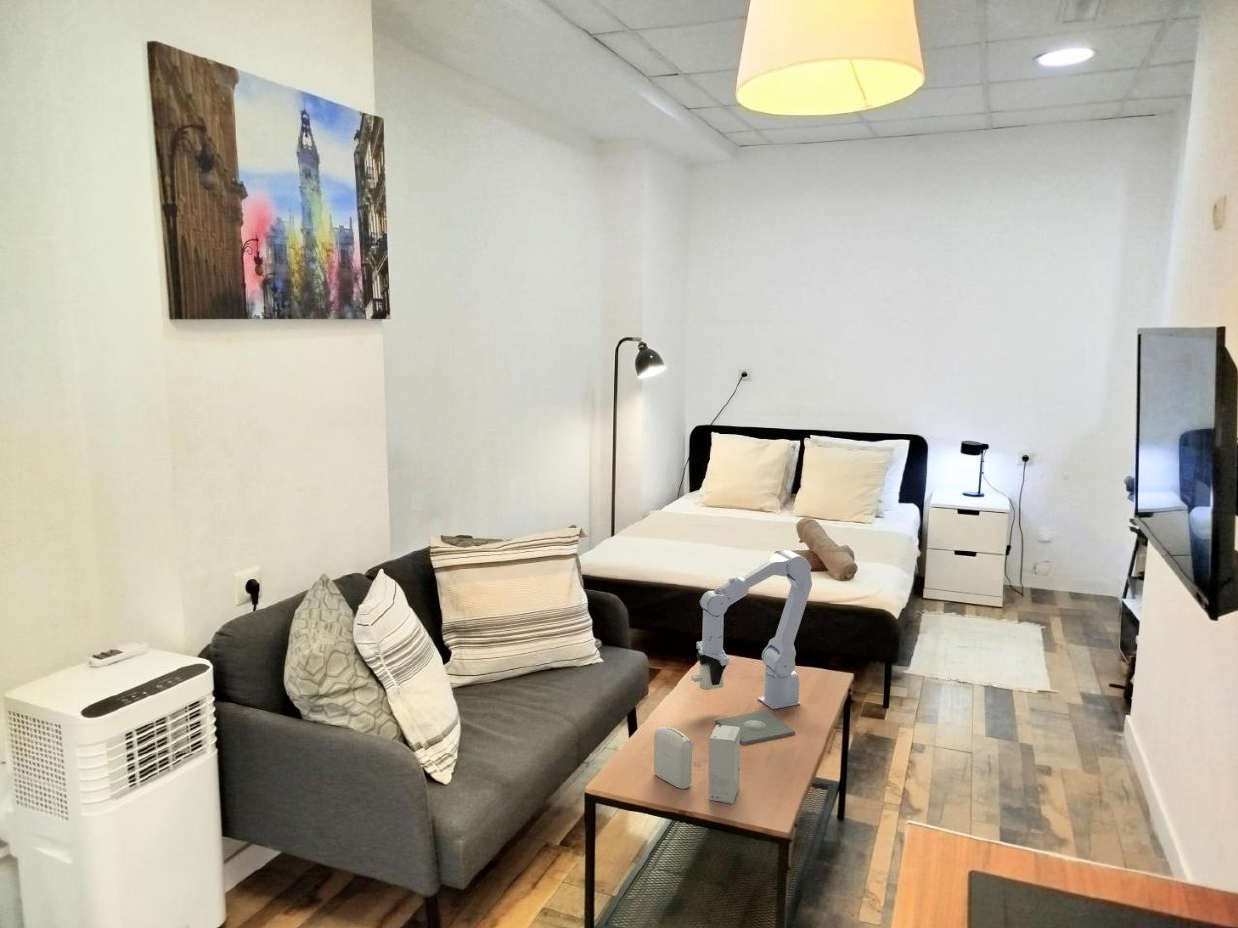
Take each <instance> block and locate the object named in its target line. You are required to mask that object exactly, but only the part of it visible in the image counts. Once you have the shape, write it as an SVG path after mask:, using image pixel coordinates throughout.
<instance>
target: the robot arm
mask: <svg viewBox="0 0 1238 928" xmlns="http://www.w3.org/2000/svg"><path fill="white" fill-rule="evenodd" d="M811 570H812V565H811V563H810V562H809V560H807V558H806V557H804V556H802V555H800V554H798V553H796V552H793V550H791V549H789V548H782V549H781V550H779V551H777V552H775V553H773V554H772V555H771V556H770V557H769V558H767V560H766V561H764V562H763V563H762V564H760V565H759V566H757V567H756V568H754V569H753V570H751V571H750V572H749V573H747V574H746V575H744V576H743V577H739V576H735V577H733V576H731V577H729V578H728V581H727V582H725V583H723V584H722V585H721V586H716V587H715V588H714V590H708V591H706V592H704V593H703V594H702V596H701V598H700V600H699V604H700V606H701V608H702V609H703V610H702V635H701V636H702V637H701V638H702V639H701V641H696V650H698V653H696V658H697V660H698V661H699V666H700V665H702V664H707V663H708V665H709V668H710V673H711V683H712V685H718V684H719V683H720V680H721V677H722V674H723V671H724V672H725V670H726V667H727V666H728V665H730V664H729V662H730V660H729V659H730V658H729V657H728V656H727V654H726V653H725V650H724V648H723V647H724V618H725V617H724V614H725V613H726V612H727V610H728V608H729V607H730V606H731V605H733V604H734V603H736V602H737V601H739V600H740V599H742V598H744V597H746V596H747V595H748V594H749V590H750V588H752V587H754V586H756V585H758V584H759V583H762V582H763V581H765V580H767V579H769V578H771V577H773V576H778V577H786V578H787V580H788V582H789V584H790V588H789V591H788V594H787V598H786V601H785V605H784V606H783V607H784V608H783V611H782V613H781V618H780V620H779V623H778V627H777V629H776V633H775V636H774V637H772V638H771V639H769V641H768V643H767V646H766V647H765V648H764V649H763V651H762V653H761V660H762V662H763V664H764V665H765V669H764V685H763V686H764V689H763V693H764V694H763V696H758V697H757V700H758V701H761V703H763V704H765V706H767V707H769V708H770V709H772V710H776V709H782V708H788V707H790V706H791V707H792V706H797V705H801V702H800V700H799V699H800V698H799V697H800V678H799V675H798V673H797V672H796V671H795V668H796V660H795V659H796V655H797V652H796V649H795V648H796V647H795V645H794V643H795V640H796V637H797V634H798V630H799V628H800V624H801V621H802V618H803V615H804V612H805V609H806V606H807V602H808V599H809V597H810V593H811V590H812V586H813V581H812V580H813V579H812V574H811V573H812V572H811Z"/></svg>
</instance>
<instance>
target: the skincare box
mask: <svg viewBox="0 0 1238 928" xmlns="http://www.w3.org/2000/svg"><path fill="white" fill-rule="evenodd" d="M740 747H741V746H740V727H734V726H725V725H718V724H716V725H715V726H714V729H712V733H711V735H710V736H709V739H708V800H709V801H716V802H721V803H725V804H730V805H733V804H734V803H735V797H736V796H737V793H738V791H739V789H740V762H741V761H740V758H741V757H740V754H741V753H740V752H741V748H740Z"/></svg>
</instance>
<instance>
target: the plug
mask: <svg viewBox="0 0 1238 928" xmlns="http://www.w3.org/2000/svg"><path fill="white" fill-rule="evenodd" d="M724 672H725V670H724V671H723V674H722V677H721V680H720V683H719V684H718V685H712V683H711V673H710V668H709V665H708V663H707V664H702V665H700V664H699V674H695V675H691V677H690V680H691V681H692V682H694V683H698V682H699V684H698V685H699V689H701V690H704V691H710V690H711V691H712V690H718V689H721V688H723V687H724Z"/></svg>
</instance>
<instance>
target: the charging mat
mask: <svg viewBox="0 0 1238 928" xmlns="http://www.w3.org/2000/svg"><path fill="white" fill-rule="evenodd" d="M715 724H716V725H725V726H734V727H740V743H741V744H742V745H748V744H752V743H753V744H754V743H758V742H764V741H768V740H773V739H778V738H783V737H788V736H791V735H796V731H795V730H794V729H792V728H791V727H790V726H789V725H788V724H785V723H784V722H783V721H781V720H780V719H778V718H777V717H775V715H772V713H770V712H769V711H768V710H766V709H765V710H760V711H755V712H751V713H745V714H740V715H734V716H730V717H729V716H728V717H724V718H718V719H715Z"/></svg>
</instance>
